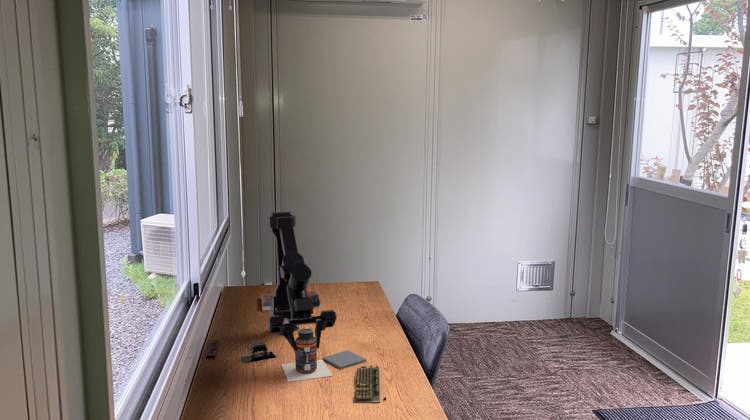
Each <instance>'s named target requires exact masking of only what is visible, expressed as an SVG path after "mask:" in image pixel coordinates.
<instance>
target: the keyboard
mask: <svg viewBox="0 0 750 420" xmlns="http://www.w3.org/2000/svg"><path fill="white" fill-rule="evenodd" d="M355 378H356V379H355V380H356V382H355V389H354V390H355V392H354V403H355V404H381V396H380V395H381V393H380V391H381V390H380V387H381V385H380V383H381V382H380V367H379V365H378V364H376V365H375V367H374V366H373V365H372V364H370V365H369V366H367V365H360V367H357V368H356V376H355ZM386 393H388V390H386ZM382 400H383V401H386V400H387V396H384V397H383V399H382Z"/></svg>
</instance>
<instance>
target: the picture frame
mask: <svg viewBox="0 0 750 420" xmlns="http://www.w3.org/2000/svg"><path fill="white" fill-rule="evenodd" d="M307 293H308V297H309V298H311V296H312V295H319V294H318V292H317V291H316V290H309V291H308V290H307ZM272 297H274V293H261V294H260V300H262V301H261V308H262V311H263V310H268V311H271V303H272ZM319 300H320V305H319V306H318V307H317V308H322V301H321V299H320V298H319ZM275 309H276V308H275Z"/></svg>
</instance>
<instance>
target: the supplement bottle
mask: <svg viewBox="0 0 750 420" xmlns="http://www.w3.org/2000/svg"><path fill="white" fill-rule="evenodd" d="M297 332H298V334H297V335H298V336H297V337H296V338H295V343H296V349H297V350H296V351H294V356H295V357H294V359H295V361H294V363H295V366H296V371H298V372H300V373H311V372H314V371H315V370H316V369H317V360H318V357H317V356H318V355H317V354H318V353H317V352H318V349H317V340H316V338H315V335H314V331H313V329H312V328H300V329H298V331H297Z"/></svg>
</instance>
